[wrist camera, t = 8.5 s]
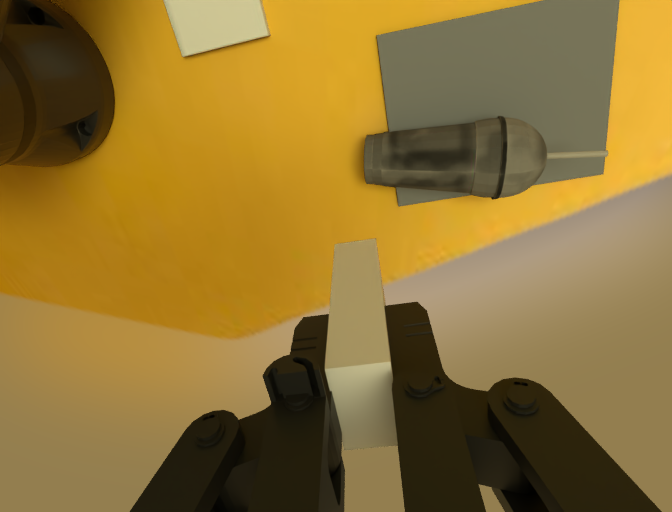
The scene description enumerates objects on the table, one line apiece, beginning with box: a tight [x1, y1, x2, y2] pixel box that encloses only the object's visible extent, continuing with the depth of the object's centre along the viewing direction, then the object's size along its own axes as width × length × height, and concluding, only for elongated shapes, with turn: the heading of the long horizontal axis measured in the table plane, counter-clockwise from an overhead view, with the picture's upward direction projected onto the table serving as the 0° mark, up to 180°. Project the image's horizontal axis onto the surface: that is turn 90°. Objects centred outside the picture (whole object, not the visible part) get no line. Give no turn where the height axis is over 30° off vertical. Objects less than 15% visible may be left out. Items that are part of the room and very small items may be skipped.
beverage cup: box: [364, 116, 608, 199], centre depth 38 cm, size 7×7×20 cm
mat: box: [377, 0, 619, 206], centre depth 40 cm, size 20×16×1 cm
